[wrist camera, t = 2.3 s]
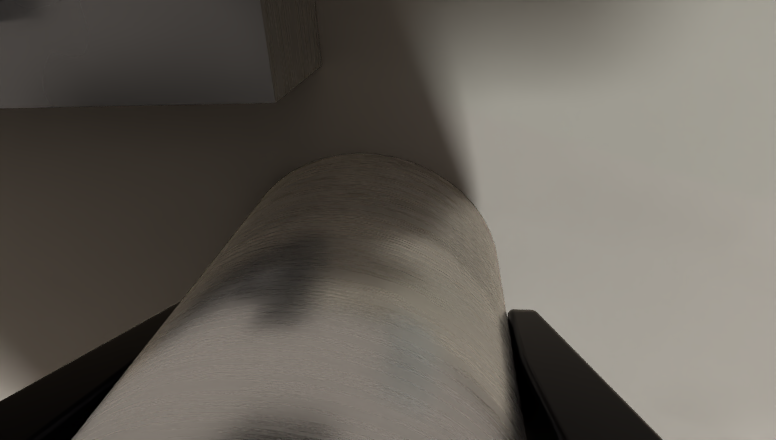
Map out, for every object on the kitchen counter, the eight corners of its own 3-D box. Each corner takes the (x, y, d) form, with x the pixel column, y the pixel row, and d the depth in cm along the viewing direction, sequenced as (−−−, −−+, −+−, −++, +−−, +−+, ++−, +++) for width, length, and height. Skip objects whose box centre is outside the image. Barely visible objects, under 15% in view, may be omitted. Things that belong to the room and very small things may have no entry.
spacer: (491, 375, 11) (533, 786, 5) (266, 364, 11) (102, 724, 6) (506, 152, 8) (604, 483, 3) (222, 154, 9) (-110, 434, 4)
